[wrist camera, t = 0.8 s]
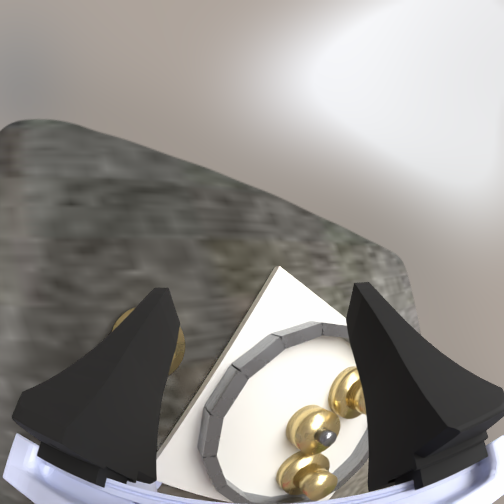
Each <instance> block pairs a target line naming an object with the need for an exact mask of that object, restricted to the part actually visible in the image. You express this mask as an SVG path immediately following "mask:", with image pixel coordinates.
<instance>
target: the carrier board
mask: <svg viewBox="0 0 504 504" xmlns="http://www.w3.org/2000/svg"><path fill="white" fill-rule="evenodd" d="M309 321H315V322H324V323H331V324H338V325H346V326H347V324H346V318H345V317H343V316H342V315H341V314H340V313H338V312H337V311H336V310H335V309H333V308H332V307H331V306H330V305H328V304H327V303H326V302H324V301H323V300H322V299H321V298H319V297H318V296H317V295H316V294H314V293H313V292H312V291H311V290H309V289H308V288H307V287H306V286H304V285H303V284H302V283H300V282H299V281H298V280H297V279H295V278H294V277H293V276H292V275H290V274H289V273H288V272H286V271H285V270H284V269H283V268H281V267H280V266H278V267H274V269H273V271H272V272H271V274H270V276H269V277H268V279H267V281H266V282H265V284H264V286H263V287H262V289H261V291H260V292H259V294H258V296H257V297H256V299H255V301H254V302H253V304H252V306H251V307H250V309H249V311H248V312H247V314H246V315H245V317H244V319H243V320H242V322H241V324H240V325H239V327H238V328H237V330H236V332H235V333H234V335H233V336H232V338H231V340H230V341H229V343H228V345H227V346H226V348H225V349H224V351H223V352H222V354H221V356H220V357H219V359H218V360H217V362H216V364H215V365H214V367H213V368H212V370H211V371H210V373H209V375H208V376H207V378H206V379H205V381H204V382H203V384H202V385H201V387H200V389H199V390H198V392H197V393H196V395H195V396H194V398H193V399H192V401H191V402H190V404H189V405H188V407H187V408H186V410H185V411H184V413H183V415H182V416H181V418H180V419H179V421H178V422H177V424H176V425H175V427H174V428H173V430H172V431H171V433H170V434H169V435H168V437H167V438H166V440H165V441H164V443H163V444H162V446H161V447H160V449H159V450H158V452H157V454H156V472H157V480H156V481H159V482H162V483H164V484H167V485H170V486H173V487H176V488H179V489H182V490H185V491H188V492H191V493H195V494H198V495H202V496H206V497H209V498H213V499H218V500H222V501H226V502H231V503H233V502H232V501H230V500H229V499H227V498H226V497H225V496H223V495H222V494H220V493H219V492H218V491H216V490H215V488H214V486H213V484H212V482H211V480H210V479H209V476H208V474H207V471H206V469H205V466H204V464H203V461H202V458H201V456H200V453H199V450H198V448H197V445H198V439H199V432H200V426H201V420H202V414H203V408H204V406H205V403H206V402H207V400H208V398H209V397H210V395H211V394H212V392H213V391H214V389H215V388H216V386H217V385H218V383H219V381H220V380H221V378H222V377H223V375H224V374H225V372H226V370H227V369H228V367H229V366H230V365H231V366H233V365H232V364H231V363H233V362H234V361H235V360H237V359H238V358H239V357H241V356H242V355H243V354H244V353H246V352H247V351H248V350H250V349H251V348H252V347H253V346H255V345H256V344H257V343H259V342H260V341H261V340H262V339H264V338H265V337H266V336H267V335H269V334H270V335H271V333H274V332H277V331H280V330H283V329H287V328H290V327H293V326H296V325H299V324H303V323H306V322H309ZM351 366H356V363H355V360H354V356H353V353H352V349H351V345H350V343H348V342H347V341H345V340H344V339H343V338H341V337H332V336H320V337H317V338H315V339H312V340H309V341H307V342H304V343H301V344H298V345H295V346H292V347H290V348H287V349H285V350H284V351H282V352H281V353H280V354H279V355H278V356H276V357H275V358H274V359H273V360H272V361H270V362H269V363H268V364H267V365H266V366H264V367H263V368H262V369H261V370H259V371H258V372H257V373H256V374H254V375H253V376H252V377H250V378H249V379H248V381H247V383H246V384H245V386H244V387H243V389H242V391H241V392H240V394H239V395H238V397H237V398H236V400H235V402H234V403H233V405H232V406H231V408H230V409H229V411H228V412H227V414H226V415H225V417H224V419H223V425H222V430H221V436H220V441H219V447H218V452H217V458H218V461H219V464H220V466H221V469H222V472H223V475H224V477H225V478H226V479H227V480H229V481H230V482H231V483H232V484H234V485H235V486H236V487H238V488H239V489H240V490H242V491H243V492H248V493H253V494H258V495H263V496H269V497H273V496H279V495H285V494H288V493H286V492H285V491H284V490H283V489H282V488H281V487H280V486H279V485H278V483H277V481H276V475H277V471H278V469H279V468H280V466H281V465H282V463H283V462H284V461H285V460H286V459H287V458H289V457H290V456H291V455H293V454H295V453H297V452H299V451H301V450H300V449H298V448H297V447H296V446H294V445H293V444H292V443H290V442H289V440H288V439H287V437H286V427H287V424H288V422H289V420H290V418H291V417H292V416H293V414H294V413H295V412H297V411H298V410H299V409H301V408H302V407H305V406H307V405H318V406H320V407H322V408H324V409H326V410H328V411H331V409H330V407H329V403H328V396H329V391H330V388H331V385H332V383H333V381H334V380H335V378H336V377H337V376H338V375H339V374H340V373H341V372H342V371H343V370H344V369H346V368H348V367H351ZM331 412H332V411H331ZM336 415H337V414H336ZM337 416H338V417H339V419H340V425H341V426H340V431H339V434H338V436H337V438H336V441H335V442H334V443H333V444H332V445H331V446H330V447H329V448H327V449H326V450H325V451H323V452H321V454H323V455H324V456H326V457H327V458H328V459H329V462H330V468H329V472H330V473H333V472H334V471H335V470H336V469H337V468H338V467H339V466H340V465H341V464H342V463H343V462H344V461H345V460H346V459H347V458H348V457H349V456H350V455H351V454H352V452H353V451H354V449H355V448H356V446H357V444H358V443H359V441H360V439H361V438H362V436H363V434H364V432H365V431H366V428H367V416H366V415H365V414H361V415H360V416H358V417H356V418H353V419H346V418H343V417H341V416H339V415H337ZM334 492H335V491H334ZM334 492H332V493H331V494H329V495H328V496H326V497H325V498H323V499H320V500H318V501H324V500H329V499H330V497H331V496H332V495H333V493H334Z"/></svg>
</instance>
